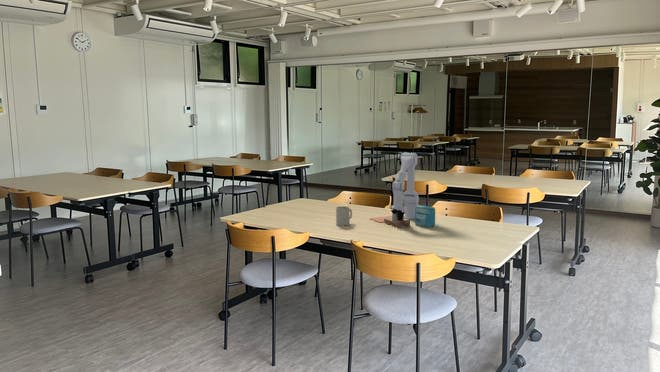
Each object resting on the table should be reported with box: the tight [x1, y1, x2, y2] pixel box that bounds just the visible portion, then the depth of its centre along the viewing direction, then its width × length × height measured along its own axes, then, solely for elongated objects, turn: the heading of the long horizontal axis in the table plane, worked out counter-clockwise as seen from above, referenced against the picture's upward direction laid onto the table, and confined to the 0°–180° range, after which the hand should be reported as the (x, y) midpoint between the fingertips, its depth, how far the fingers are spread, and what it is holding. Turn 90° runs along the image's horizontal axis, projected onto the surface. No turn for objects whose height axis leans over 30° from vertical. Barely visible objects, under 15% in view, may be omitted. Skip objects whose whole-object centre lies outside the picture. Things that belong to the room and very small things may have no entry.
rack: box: [383, 219, 411, 228], centre depth 328 cm, size 10×16×4 cm, turn 22°
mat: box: [369, 215, 392, 224], centre depth 343 cm, size 16×13×1 cm
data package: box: [414, 205, 436, 228], centre depth 323 cm, size 12×4×12 cm, turn 49°
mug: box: [335, 205, 353, 227], centre depth 331 cm, size 12×8×11 cm
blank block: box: [391, 213, 405, 223], centre depth 327 cm, size 6×4×7 cm, turn 112°
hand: (398, 221), depth 327 cm, fingers closed on blank block, 4 cm apart
